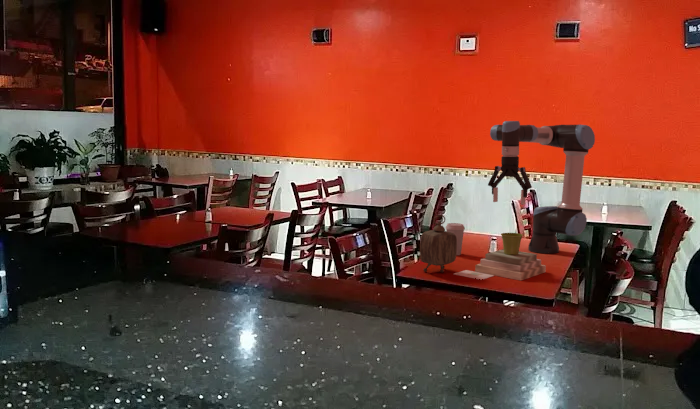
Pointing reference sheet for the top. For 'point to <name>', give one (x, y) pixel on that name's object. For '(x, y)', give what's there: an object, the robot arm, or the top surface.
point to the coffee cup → (457, 234)
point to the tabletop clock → (438, 246)
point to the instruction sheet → (473, 274)
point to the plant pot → (511, 243)
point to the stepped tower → (511, 265)
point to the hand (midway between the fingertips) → (508, 203)
